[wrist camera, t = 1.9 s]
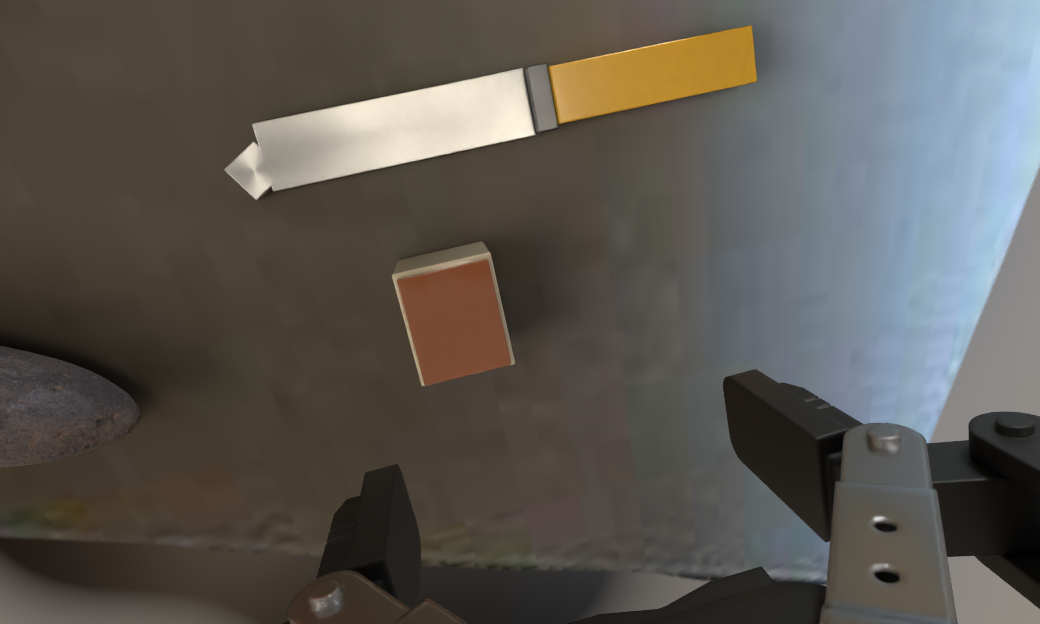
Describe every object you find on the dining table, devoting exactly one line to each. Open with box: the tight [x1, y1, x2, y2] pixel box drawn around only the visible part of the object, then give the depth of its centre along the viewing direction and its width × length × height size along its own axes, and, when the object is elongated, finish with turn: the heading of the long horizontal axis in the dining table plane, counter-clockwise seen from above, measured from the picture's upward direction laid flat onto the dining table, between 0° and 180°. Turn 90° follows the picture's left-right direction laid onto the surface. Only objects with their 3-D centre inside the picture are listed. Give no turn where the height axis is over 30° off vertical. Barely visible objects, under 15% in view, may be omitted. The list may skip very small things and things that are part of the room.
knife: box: [224, 25, 757, 201], centre depth 29 cm, size 26×3×2 cm, turn 102°
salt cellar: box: [392, 241, 515, 386], centre depth 30 cm, size 5×6×4 cm
